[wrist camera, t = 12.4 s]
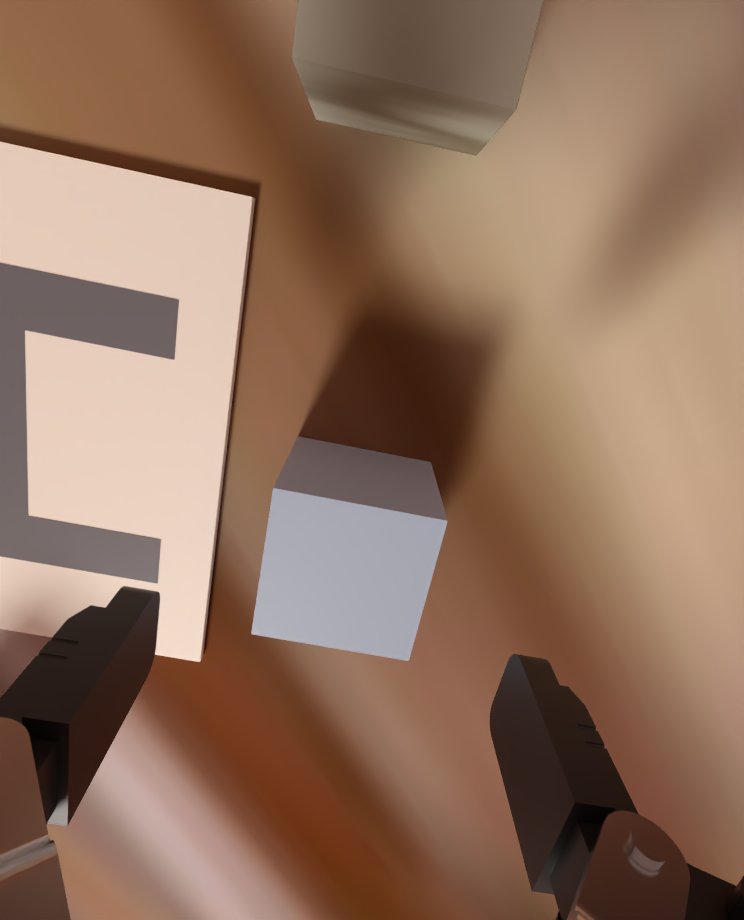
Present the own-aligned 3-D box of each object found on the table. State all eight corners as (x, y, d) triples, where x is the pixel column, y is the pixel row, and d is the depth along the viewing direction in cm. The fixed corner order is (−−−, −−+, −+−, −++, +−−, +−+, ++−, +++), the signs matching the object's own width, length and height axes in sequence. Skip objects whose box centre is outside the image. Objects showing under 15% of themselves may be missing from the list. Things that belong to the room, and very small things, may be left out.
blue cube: (430, 461, 20) (447, 520, 15) (401, 575, 21) (408, 660, 17) (298, 435, 19) (273, 487, 15) (279, 552, 21) (251, 634, 16)
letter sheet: (255, 198, 17) (252, 196, 16) (203, 655, 23) (199, 662, 22) (-279, 81, 16) (-296, 76, 15) (-187, 590, 22) (-198, 596, 21)
